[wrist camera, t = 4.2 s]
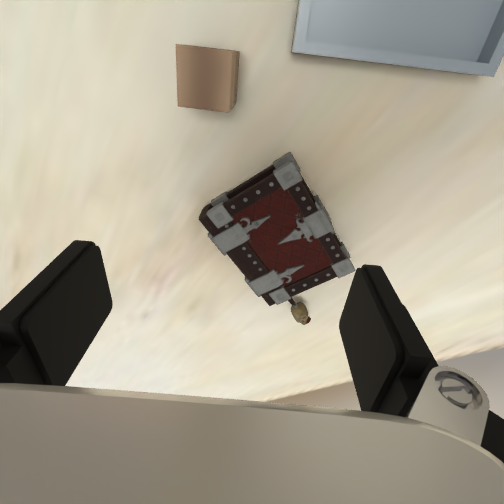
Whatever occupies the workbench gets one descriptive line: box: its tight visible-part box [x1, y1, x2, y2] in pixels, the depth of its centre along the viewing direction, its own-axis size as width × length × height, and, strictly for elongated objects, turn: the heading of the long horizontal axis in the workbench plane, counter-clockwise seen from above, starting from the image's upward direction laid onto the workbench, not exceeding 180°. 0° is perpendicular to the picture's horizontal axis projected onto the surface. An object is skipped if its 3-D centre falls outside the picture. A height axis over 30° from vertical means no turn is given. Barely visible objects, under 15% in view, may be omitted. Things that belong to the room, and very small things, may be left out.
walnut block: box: [176, 44, 239, 112], centre depth 31 cm, size 5×5×7 cm
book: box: [199, 152, 355, 325], centre depth 44 cm, size 15×25×5 cm, turn 33°
